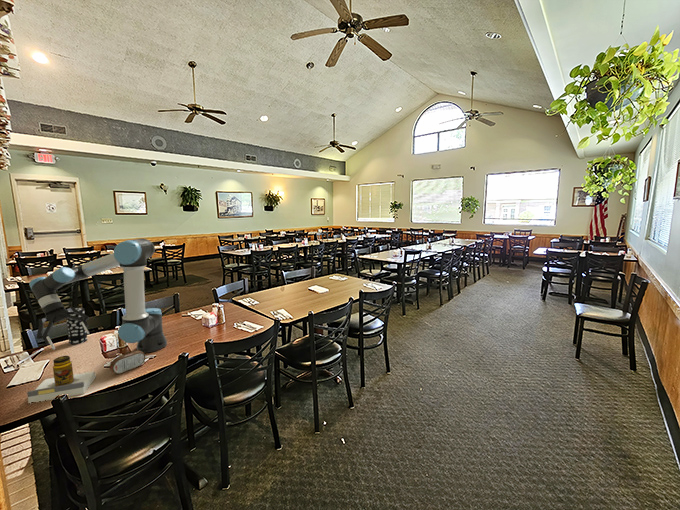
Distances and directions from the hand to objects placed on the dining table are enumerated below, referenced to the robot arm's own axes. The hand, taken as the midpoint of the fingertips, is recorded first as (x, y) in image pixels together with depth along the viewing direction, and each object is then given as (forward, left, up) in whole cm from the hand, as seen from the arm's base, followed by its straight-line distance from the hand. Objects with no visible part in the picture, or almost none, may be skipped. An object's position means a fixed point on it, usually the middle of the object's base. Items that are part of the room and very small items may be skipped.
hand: (71, 340), depth 145 cm
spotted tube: (+10, -37, -15) cm, 41 cm away
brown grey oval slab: (-26, +12, -15) cm, 32 cm away
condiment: (-3, +21, -12) cm, 24 cm away
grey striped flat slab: (-4, +21, -15) cm, 26 cm away
